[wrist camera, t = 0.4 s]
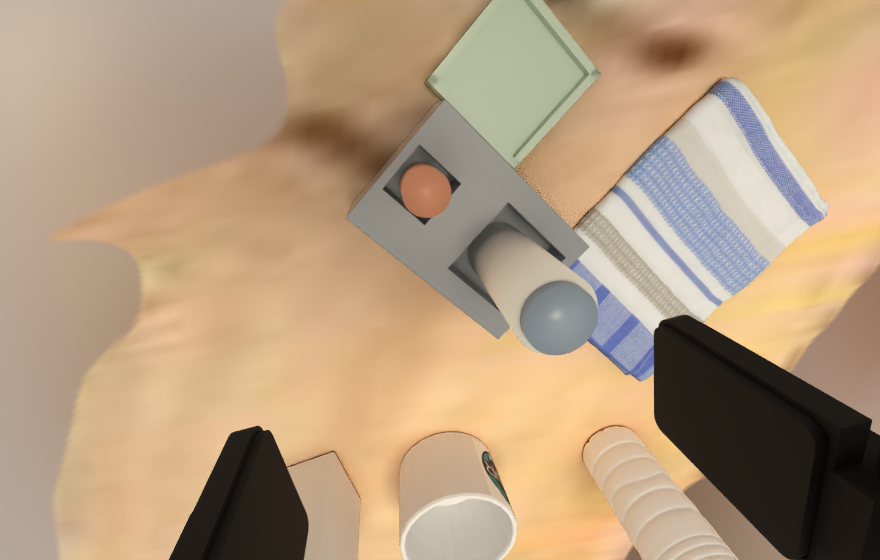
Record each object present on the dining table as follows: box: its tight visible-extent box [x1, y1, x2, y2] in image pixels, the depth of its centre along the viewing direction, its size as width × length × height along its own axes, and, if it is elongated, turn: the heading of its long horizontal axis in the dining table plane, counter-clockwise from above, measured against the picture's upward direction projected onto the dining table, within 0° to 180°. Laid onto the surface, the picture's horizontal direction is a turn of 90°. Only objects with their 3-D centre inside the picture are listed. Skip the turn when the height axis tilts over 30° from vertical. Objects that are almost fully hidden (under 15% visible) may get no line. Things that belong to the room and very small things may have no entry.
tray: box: [425, 0, 601, 169], centre depth 30 cm, size 9×9×2 cm
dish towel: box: [569, 77, 830, 381], centre depth 37 cm, size 17×24×3 cm
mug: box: [399, 432, 517, 560], centre depth 40 cm, size 13×10×8 cm
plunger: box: [399, 162, 451, 218], centre depth 27 cm, size 3×3×4 cm
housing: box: [346, 100, 590, 339], centre depth 32 cm, size 10×15×5 cm, turn 48°
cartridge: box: [468, 222, 598, 355], centre depth 27 cm, size 5×5×13 cm
